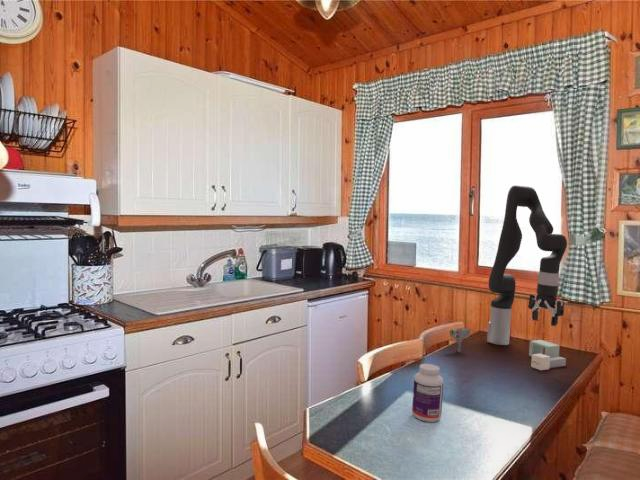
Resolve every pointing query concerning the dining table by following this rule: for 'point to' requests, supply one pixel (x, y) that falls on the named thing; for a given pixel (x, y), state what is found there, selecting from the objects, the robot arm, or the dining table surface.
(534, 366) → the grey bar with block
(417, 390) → the pill bottle
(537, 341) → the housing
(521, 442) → the dining table surface
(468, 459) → the dining table surface
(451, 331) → the mechanical component
